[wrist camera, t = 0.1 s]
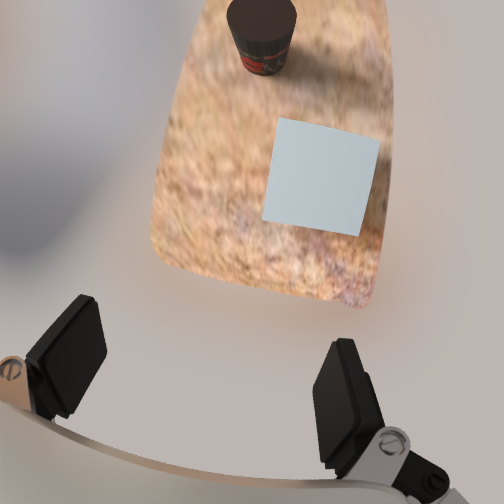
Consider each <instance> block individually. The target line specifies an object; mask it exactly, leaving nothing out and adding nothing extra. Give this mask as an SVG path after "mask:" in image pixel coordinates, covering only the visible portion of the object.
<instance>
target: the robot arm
mask: <svg viewBox="0 0 504 504" xmlns="http://www.w3.org/2000/svg"><path fill="white" fill-rule="evenodd" d="M106 355H107V347H106V343H105V338H104V333H103V329H102V324H101V319H100V314H99V309H98V303H97V302H96V301H95V299H94V298H93V297H90V296H87V295H83V294H80V295H79V296H78V297H77V298H76V299H75V300H74V301H73V302H72V303H71V304H70V306H69V307H67V309H66V310H65V311H64V312H63V313H62V314H61V315H60V316H59V317H58V318H57V320H56V321H55V322H54V323H53V324H52V325H51V326H50V327H49V329H48V330H47V331H46V332H45V333H44V334H43V336H42V337H41V338H40V339H39V341H37V343H36V344H35V345H34V346H33V348H32V349H31V350H30V351H29V352H28V354H27V355H26V359H25V361H24V360H23V359H21V358H20V357H18V356H9V357H6V358H4V359H3V360H1V362H0V504H469V503H468V502H467V501H466V500H465V499H464V498H463V496H462V495H461V494H460V493H459V492H458V491H457V490H456V489H455V488H452V489H450V488H449V485H450V481H449V477H448V475H447V473H446V472H445V471H444V470H443V469H441V468H440V467H438V466H436V465H435V464H433V463H431V462H429V461H428V460H426V459H424V458H422V457H421V456H419V455H417V454H416V453H414V452H412V451H411V450H410V440H409V437H408V436H407V434H406V433H405V432H404V431H402V430H401V429H399V428H396V427H385V423H384V420H383V417H382V413H381V411H380V407H379V404H378V401H377V397H376V394H375V391H374V388H373V385H372V382H371V379H370V376H369V374H368V373H367V372H364V369H363V366H362V363H361V360H360V357H359V354H358V351H357V348H356V345H355V343H354V340H353V339H346V338H338V339H337V341H334V342H332V344H331V346H330V349H329V351H328V353H327V356H326V358H325V361H324V363H323V365H322V368H321V370H320V372H319V374H318V377H317V379H316V381H315V384H314V386H313V401H314V408H315V417H316V425H317V434H318V442H319V452H320V460H321V462H322V463H325V469H335V474H336V475H337V476H336V477H335V478H334V479H328V480H325V479H324V480H323V479H322V480H321V479H320V480H289V479H264V478H252V477H241V476H232V475H224V474H218V473H211V472H205V471H199V470H194V469H189V468H184V467H178V466H175V465H170V464H166V463H162V462H158V461H154V460H151V459H147V458H144V457H140V456H137V455H134V454H130V453H127V452H124V451H121V450H118V449H115V448H113V447H110V446H107V445H104V444H102V443H99V442H96V441H94V440H91V439H89V438H87V437H84V436H82V435H79V434H77V433H75V432H72V431H70V430H68V429H66V428H63V427H62V426H59V425H57V424H56V423H55V419H54V418H55V416H56V414H57V415H59V416H61V417H63V418H65V419H68V417H69V415H70V414H73V413H74V412H75V410H76V408H77V407H78V405H79V403H80V401H81V399H82V398H83V396H84V394H85V392H86V390H87V389H88V387H89V385H90V383H91V382H92V380H93V378H94V376H95V375H96V373H97V371H98V370H99V368H100V366H101V364H102V363H103V361H104V359H105V358H106Z"/></svg>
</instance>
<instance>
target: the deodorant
mask: <svg viewBox="0 0 504 504" xmlns="http://www.w3.org/2000/svg"><path fill="white" fill-rule="evenodd" d="M226 17H227V21H228V25H229V28H230V30H231V33H232V36H233V38H234V41H235V44H236V46H237V49H238V52H239V55H240V58H241V60H242V63H243V65H244V67H245V68H246V69H247V70H248V71H250V72H251V73H253V74H256V75H261V76H266V75H271V74H274V73H276V72H278V71H279V70H280V69H281V68H282V67H283V65H284V63H285V61H286V57H287V53H288V49H289V46H290V42H291V38H292V35H293V31H294V27H295V24H296V18H297V13H296V9H295V7H294V5H293V4H292V2H291V1H290V0H233V1H232V2H231V3H230V5H229V7H228V9H227V16H226Z"/></svg>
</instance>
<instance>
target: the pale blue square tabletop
mask: <svg viewBox="0 0 504 504" xmlns="http://www.w3.org/2000/svg"><path fill="white" fill-rule="evenodd" d="M379 146H380V141H379V140H376V139H372V138H369V137H365V136H362V135H358V134H354V133H350V132H346V131H342V130H338V129H334V128H330V127H325V126H321V125H316V124H311V123H306V122H301V121H296V120H291V119H285V118H278V122H277V128H276V135H275V141H274V147H273V153H272V160H271V166H270V172H269V178H268V185H267V191H266V197H265V203H264V209H263V216H262V220H264V221H271V222H277V223H283V224H290V225H296V226H302V227H308V228H314V229H319V230H325V231H331V232H337V233H342V234H348V235H353V236H359V233H360V229H361V225H362V222H363V218H364V214H365V210H366V206H367V202H368V198H369V193H370V189H371V185H372V180H373V176H374V171H375V166H376V161H377V156H378V151H379Z"/></svg>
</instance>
